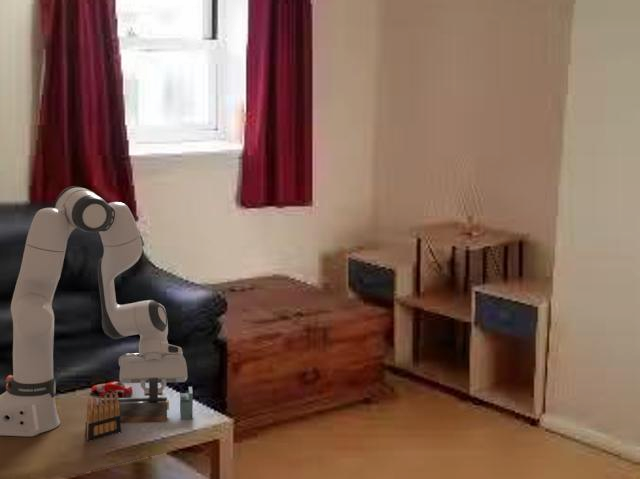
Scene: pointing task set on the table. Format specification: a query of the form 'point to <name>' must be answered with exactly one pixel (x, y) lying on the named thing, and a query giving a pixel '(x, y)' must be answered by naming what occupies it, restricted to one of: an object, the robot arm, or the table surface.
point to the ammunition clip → (103, 418)
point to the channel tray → (141, 410)
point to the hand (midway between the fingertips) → (153, 394)
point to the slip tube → (152, 393)
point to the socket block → (186, 404)
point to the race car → (112, 389)
